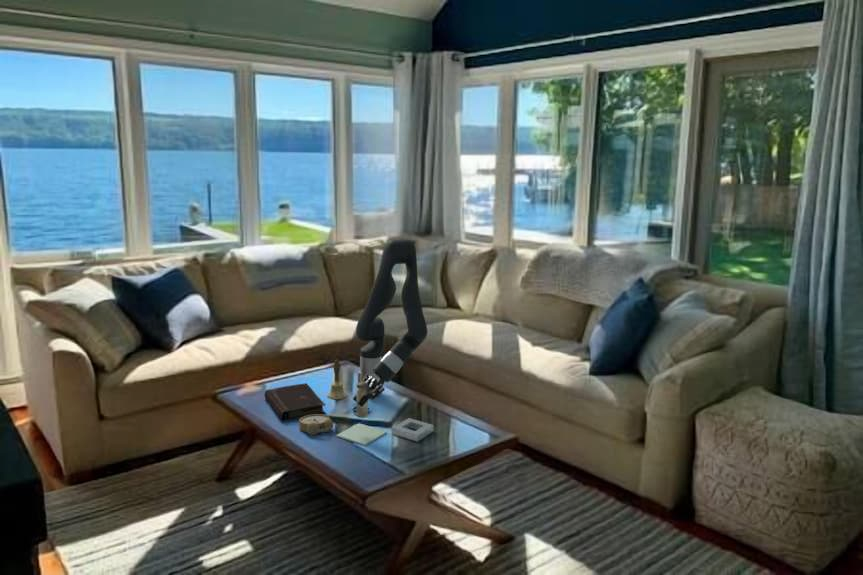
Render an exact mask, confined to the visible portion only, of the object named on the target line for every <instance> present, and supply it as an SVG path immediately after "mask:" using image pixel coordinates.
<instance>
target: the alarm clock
mask: <svg viewBox="0 0 863 575" xmlns="http://www.w3.org/2000/svg"><path fill="white" fill-rule="evenodd" d="M298 420H299V424H298V425H299V430H300V431H301V432H304V433H305V432H306V433H307V434H308V435H311V436H316V435H317V434H318V433H330V432H331V431H332V430H333V428H334V422H333V420H332V419H331V417H330V416H328V415H326V414H324V415H323V414H312V415H307V416H304V417H301V418H298Z"/></svg>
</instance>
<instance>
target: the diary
mask: <svg viewBox="0 0 863 575" xmlns="http://www.w3.org/2000/svg"><path fill="white" fill-rule="evenodd" d="M264 398H265V400H266V401H267V402H268V404H269V405H270V407H271V408H272V410H273V411H274V412H275V413H276V415H277V417H278V418H279V419H280V422H284V419H285V420H286V421H288V419H289V420H293V419H300V418H302V417H304V416H307V415H312V414H323V415H326V414H327V413H326V412H325V411H324V410H323V409H324V408H323V406H324V407H325V406H326V405H327V404H325V402H324V401H323V400H322V399H321V398H320V397H319V396H318V395H317V394H316V392H315V391H314V390H313V388H311V387H310V385H308V383H307V382H306V383H298V384H292V385H285V386H280V387H276V388H271V389H266V390H265V392H264ZM283 417H284V419H283Z"/></svg>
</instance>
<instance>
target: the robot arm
mask: <svg viewBox="0 0 863 575" xmlns="http://www.w3.org/2000/svg"><path fill="white" fill-rule="evenodd" d="M400 264H401V265H402V264H404V265H405V269H406V275H405V279H404V283H403V285H402V288H401V292H400V293H401V294H400V295H401V296H400V300H401V304H402V310H403V314H404V315H405V318H406V319H405V320H406V325H407V331H406V332H405V333H404V335H403V336H402V337H401V338H400V339H399V340H398V341H396V342H395V343H394V345H393V346H392V347H391V348H390V349H389V350H388V352H386V353H385V354H384V355H383V351H384V344H385V324H384V321H383V319H382V318H380V317H378V316H379V315H380V314H382V313H383V312H384V311H385V310H386V309H387V308H388V307H389V306H391V304H392V302H393V300H394V297H395V294H396V291H397V286H396V285H397V284H396V282H395V278H394V277H393V273H392V272H393V269H394V266H396V265H400ZM418 279H419V277H418V260H417V250H416V246H415V243H414V241H412V240H411V239H408V238H407V239H404V238H403V239H390V240H388V241H387V242H386V243H385V246H384V248H383V252H382V256H381V260H380V264H379V268H378V272H377V275H376V277H375V280H374V283H373V285H372V287H371V291H370V293H369V296H368V300H367V302H366V304H365V307H364V308H363V311H362V313H361V315H360V317H359V319H358V321H357V324H356V328H355V332H356V333H355V334H356V337H357V338H358V340H360V341H362V342H368V341H369V342H368V343H367V344H366V345H364V346H362V347H361V348H360V351H359V358H360V359H359V371H358V372H357V383H359V382H366V383H368V388H367V392H366V393H365V395H364V396H363V397H362V398H361V399H360V400H359V401H358V404H359V405H360V406H361V407H362V406H363V405H364V404H365V403H366V402H367V401H368V402H369V400H375V399H376V398H378V397H380V396H381V395H382V393H383V392H384V391H385V390H386V389H385V387H384V384H385V383H389V382H390V381H391V380H392V379H394V378H393V377H394V376H395V375H396V374H397V373H398V372H399V370H400V369H401V368H402V367H403V365H404V364H405V363H406V361H407V360H408V359H409V358H410V357H411V355H413V352H414V351H415V350H417V348H418V347H420V346H421V344H422V343H423V342H424V341H425V339H427V335H428V327H427V323H426V319H425V318H426V317H425V316H424V311H423V306H422V300H421V295H420V289H419V280H418ZM352 399H353V401H354V402H356V403H357V393H356V394H354V396H353V397H352Z"/></svg>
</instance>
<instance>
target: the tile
mask: <svg viewBox="0 0 863 575" xmlns="http://www.w3.org/2000/svg"><path fill="white" fill-rule="evenodd" d="M387 433H388V432H387V431H385V430H383V429H379V428H376V427H373V426H369V425H366V424H362V423H356V424H354V425H353V426H351V427H349V428H348V429H347V428H346V429H345V430H343V431H342V432H340V433H338V434H336V437H337V438H340V439H343V440H346V441H349V442H352V443H355V444H357V445H361V446H365V447H366V446H367V445H369V444H371V443H372V442H373V443H374V441H376V440H378V439H379V438H382V437H383V436H384V435H386V434H387Z"/></svg>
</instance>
